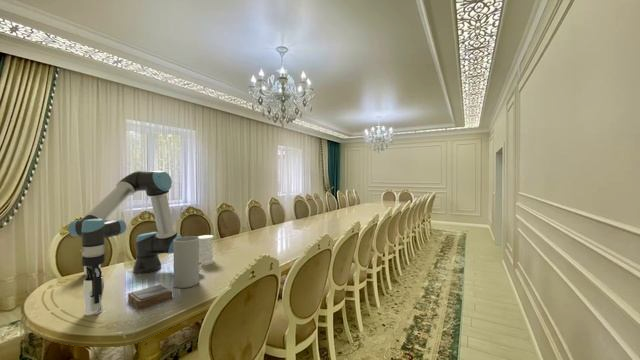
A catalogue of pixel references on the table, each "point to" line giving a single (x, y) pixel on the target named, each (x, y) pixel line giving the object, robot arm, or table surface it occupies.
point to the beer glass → (88, 300)
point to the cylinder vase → (186, 261)
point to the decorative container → (206, 249)
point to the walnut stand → (149, 296)
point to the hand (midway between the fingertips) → (93, 307)
